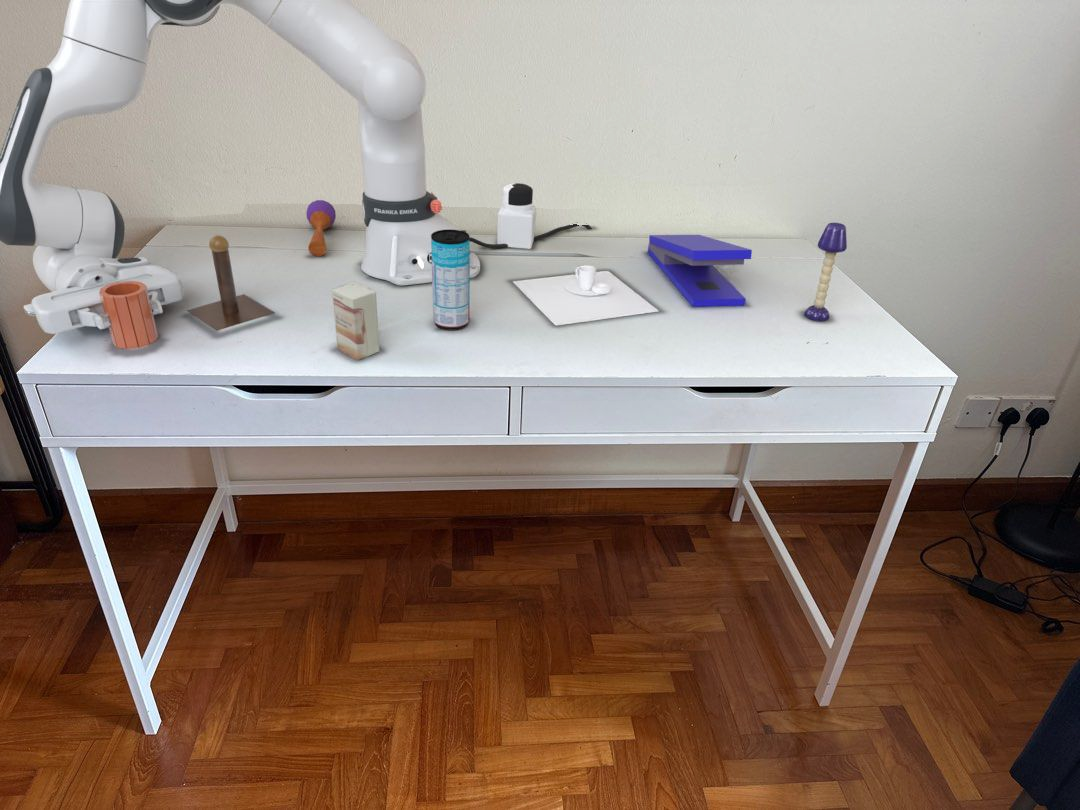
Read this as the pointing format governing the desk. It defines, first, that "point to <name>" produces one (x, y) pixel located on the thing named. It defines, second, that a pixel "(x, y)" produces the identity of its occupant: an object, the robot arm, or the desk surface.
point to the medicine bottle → (517, 217)
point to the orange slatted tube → (129, 314)
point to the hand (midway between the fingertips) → (132, 316)
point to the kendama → (319, 224)
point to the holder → (227, 294)
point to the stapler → (699, 267)
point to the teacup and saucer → (583, 297)
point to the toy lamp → (827, 268)
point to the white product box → (356, 320)
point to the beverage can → (450, 278)
